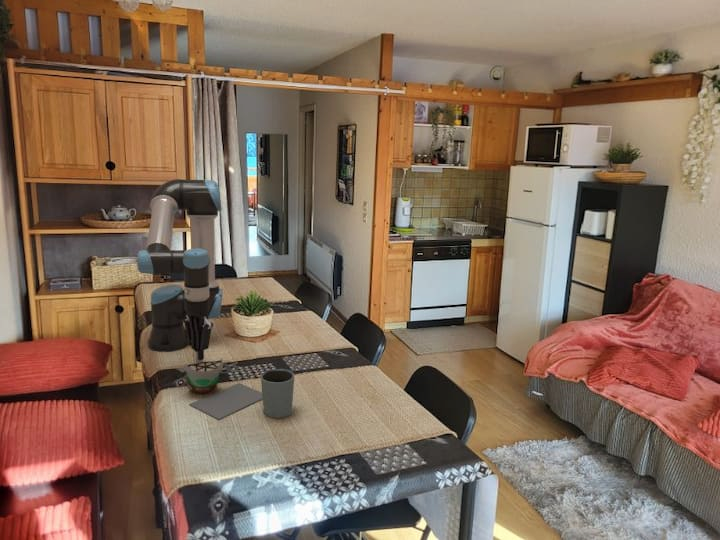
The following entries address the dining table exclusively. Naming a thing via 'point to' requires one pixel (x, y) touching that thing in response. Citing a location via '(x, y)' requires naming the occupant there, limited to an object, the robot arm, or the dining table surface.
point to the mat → (228, 401)
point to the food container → (203, 376)
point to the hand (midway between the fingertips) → (198, 368)
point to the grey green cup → (277, 392)
